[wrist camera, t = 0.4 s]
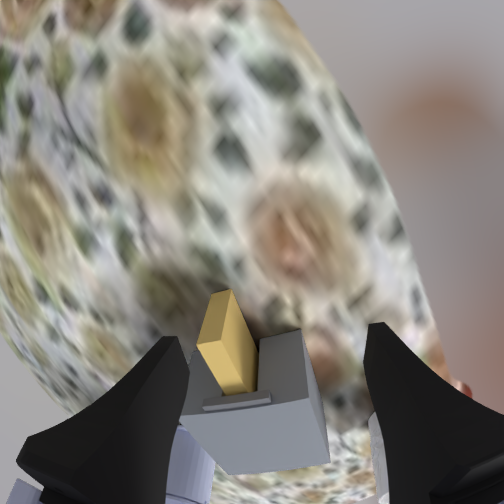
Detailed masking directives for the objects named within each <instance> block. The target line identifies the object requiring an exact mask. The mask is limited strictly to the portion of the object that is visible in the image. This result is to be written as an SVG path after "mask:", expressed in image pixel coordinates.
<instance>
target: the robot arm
mask: <svg viewBox="0 0 504 504" xmlns="http://www.w3.org/2000/svg"><path fill="white" fill-rule="evenodd" d="M363 364H364V370H365V375H366V381H367V386H368V389H369V392H370V396H371V399H372V402H373V406H374V409H375V412H376V416H377V419H378V422H379V426H380V429H381V433H382V438H383V443H384V449H385V456H386V465H387V474H388V486H389V504H504V415H502V414H500V413H498V412H496V411H494V410H491V409H489V408H487V407H485V406H483V405H482V404H480V403H478V402H476V401H474V400H473V399H471V398H470V397H468V396H466V395H465V394H463V393H461V392H460V391H458V390H457V389H456V388H454V387H453V386H451V385H450V384H449V383H447V382H446V381H445V380H443V379H442V378H441V377H440V376H438V375H437V374H436V373H435V372H434V371H433V370H431V369H430V368H429V367H428V366H427V365H426V364H425V363H424V362H423V361H422V360H421V359H420V358H418V357H417V356H416V355H415V354H414V353H413V352H412V351H411V350H410V349H409V348H408V347H407V346H406V344H405V343H404V342H403V341H402V340H401V339H400V338H399V337H398V336H397V335H396V334H395V333H394V332H393V331H392V330H391V329H390V328H389V326H388V325H387V324H386V323H385V322H380V323H373V324H369V325H368V333H367V340H366V347H365V354H364V360H363ZM189 376H190V371H189V368H188V365H187V363H186V360H185V357H184V355H183V352H182V349H181V346H180V343H179V341H178V338H177V336H163V337H162V338H161V339H160V340H159V341H158V342H157V343H156V344H155V345H154V346H153V347H152V348H151V349H150V350H149V351H148V352H147V354H146V355H145V356H144V357H143V358H142V359H141V360H140V361H139V362H138V363H137V364H136V365H135V366H134V367H133V368H132V369H131V370H130V371H129V372H128V373H127V374H126V375H125V376H124V377H123V378H122V379H121V380H120V381H119V382H118V383H117V384H116V385H114V386H113V387H112V388H111V389H110V390H109V391H108V392H106V393H105V394H104V395H103V396H102V397H100V398H99V399H98V400H96V401H95V402H94V403H92V404H91V405H89V406H88V407H86V408H85V409H83V410H82V411H80V412H79V413H77V414H76V415H74V416H72V417H71V418H69V419H67V420H65V421H64V422H62V423H60V424H58V425H56V426H54V427H51V428H49V429H47V430H44V431H42V432H39V433H37V434H34V435H32V436H29V437H27V439H26V441H25V443H24V445H23V447H22V449H21V451H20V453H19V455H18V457H17V459H16V462H17V464H18V466H19V467H20V468H21V469H23V470H24V471H25V472H26V473H27V474H29V475H30V476H31V477H32V478H34V479H35V480H36V481H37V482H39V483H40V484H42V485H43V486H44V489H43V491H41V490H39V489H37V488H35V487H34V486H32V485H30V484H28V483H26V482H24V481H23V480H21V479H17V480H16V482H15V484H14V486H13V489H12V491H11V493H10V496H9V498H8V500H7V503H6V504H209V503H210V496H211V489H212V482H213V475H214V468H215V461H214V460H213V459H212V458H211V456H210V455H209V454H208V453H207V452H206V451H205V450H204V449H203V448H202V447H201V446H200V445H199V443H198V442H197V441H196V440H195V439H194V438H193V437H192V436H191V435H190V433H189V432H188V431H187V430H186V429H185V428H184V426H183V425H178V423H179V419H180V416H181V413H182V409H183V406H184V402H185V399H186V395H187V390H188V383H189Z"/></svg>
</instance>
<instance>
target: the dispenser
mask: <svg viewBox="0 0 504 504" xmlns="http://www.w3.org/2000/svg"><path fill="white" fill-rule="evenodd" d="M189 371H190V376H189V383H188V390H187V395H186V399H185V402H184V406H183V409H182V413H181V416H180V419H179V422H180V423H181V424H182V425H183V426H184V428H185V429H186V430H187V431H188V432H189V433H190V435H191V436H192V437H193V438H194V439H195V440H196V441H197V442H198V443H199V445H200V446H201V447H202V448H203V449H204V450H205V451H206V452H207V453H208V454H209V455H210V456H211V458H212V459H213V460H214V461H215V462H216V463H217V464H218V465H219V466H220V467H221V468H222V469H223V470H224V471H225V472H226V473H227V474H228V475H240V474H254V473H265V472H275V471H283V470H291V469H298V468H304V467H310V466H316V465H321V464H326V463H331V462H330V453H329V445H328V437H327V429H326V422H325V415H324V407H323V402H322V399H321V395H320V392H319V388H318V385H317V381H316V378H315V375H314V371H313V368H312V364H311V361H310V358H309V354H308V351H307V348H306V344H305V341H304V338H303V334H302V331H301V329H300V330H296V331H292V332H288V333H283V334H279V335H275V336H270V337H266V338H261V339H260V351H259V371H258V391H256V392H250V393H243V394H237V395H230V396H226V395H225V393H224V392H223V390H222V388H221V387H220V385H219V383H218V382H217V380H216V378H215V377H214V375H213V373H212V371H211V370H210V368H209V366H208V365H207V363H206V361H205V359H204V358H203V356H202V354H201V352H200V351H195V352H193V355H192V358H191V362H190V365H189Z"/></svg>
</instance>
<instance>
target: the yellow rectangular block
mask: <svg viewBox="0 0 504 504" xmlns="http://www.w3.org/2000/svg"><path fill="white" fill-rule="evenodd" d="M196 345H197V347H198V349H199V351H200V352H201V354H202V356H203V358H204V359H205V361H206V363H207V365H208V366H209V368H210V370H211V371H212V373H213V375H214V377H215V378H216V380H217V382H218V383H219V385H220V387H221V388H222V390H223V392H224V393H225V395H226V396H230V395H237V394H243V393H250V392H256V391H258V371H259V353H258V350H257V348H256V346H255V343H254V341H253V339H252V336H251V334H250V332H249V329H248V327H247V325H246V322H245V320H244V318H243V315H242V313H241V310H240V308H239V306H238V303H237V301H236V299H235V296H234V294H233V291H232V289H229V290H225V291H221V292H217V293H213V294H211V298H210V301H209V304H208V307H207V311H206V314H205V317H204V321H203V324H202V327H201V331H200V334H199V337H198V341H197V344H196Z"/></svg>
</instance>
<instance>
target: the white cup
mask: <svg viewBox="0 0 504 504" xmlns="http://www.w3.org/2000/svg"><path fill="white" fill-rule="evenodd" d="M368 429H369V434H370V440H371V442H370V447H371V455H372V462H373V469H374V476H375V483H376V491H377V499H378V502H379V504H389V486H388V474H387V465H386V456H385V449H384V443H383V438H382V433H381V429H380V426H379V422H378V419H377V416H376V412H374V413H373V414H372V416H371V417H370V418H369V420H368Z"/></svg>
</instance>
